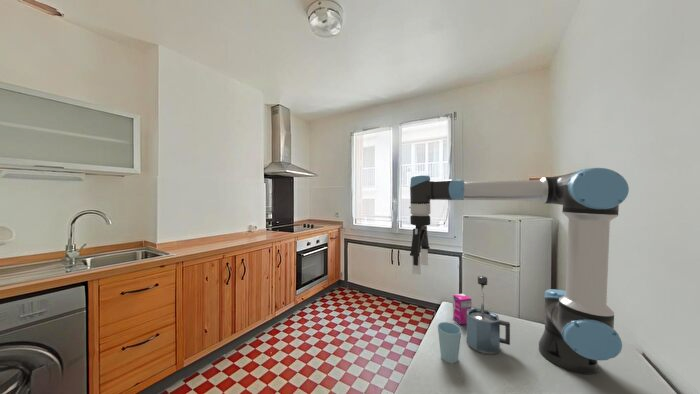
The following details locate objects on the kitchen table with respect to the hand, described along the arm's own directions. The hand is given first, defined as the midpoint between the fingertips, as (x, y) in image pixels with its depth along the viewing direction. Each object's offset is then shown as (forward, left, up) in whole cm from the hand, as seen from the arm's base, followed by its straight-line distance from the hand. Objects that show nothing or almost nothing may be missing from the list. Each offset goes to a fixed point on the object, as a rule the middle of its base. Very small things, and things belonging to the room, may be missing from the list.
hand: (420, 269), depth 91 cm
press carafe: (-23, -8, -28) cm, 37 cm away
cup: (-11, +5, -28) cm, 31 cm away
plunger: (-22, -8, -18) cm, 29 cm away
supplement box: (-15, -24, -28) cm, 39 cm away
